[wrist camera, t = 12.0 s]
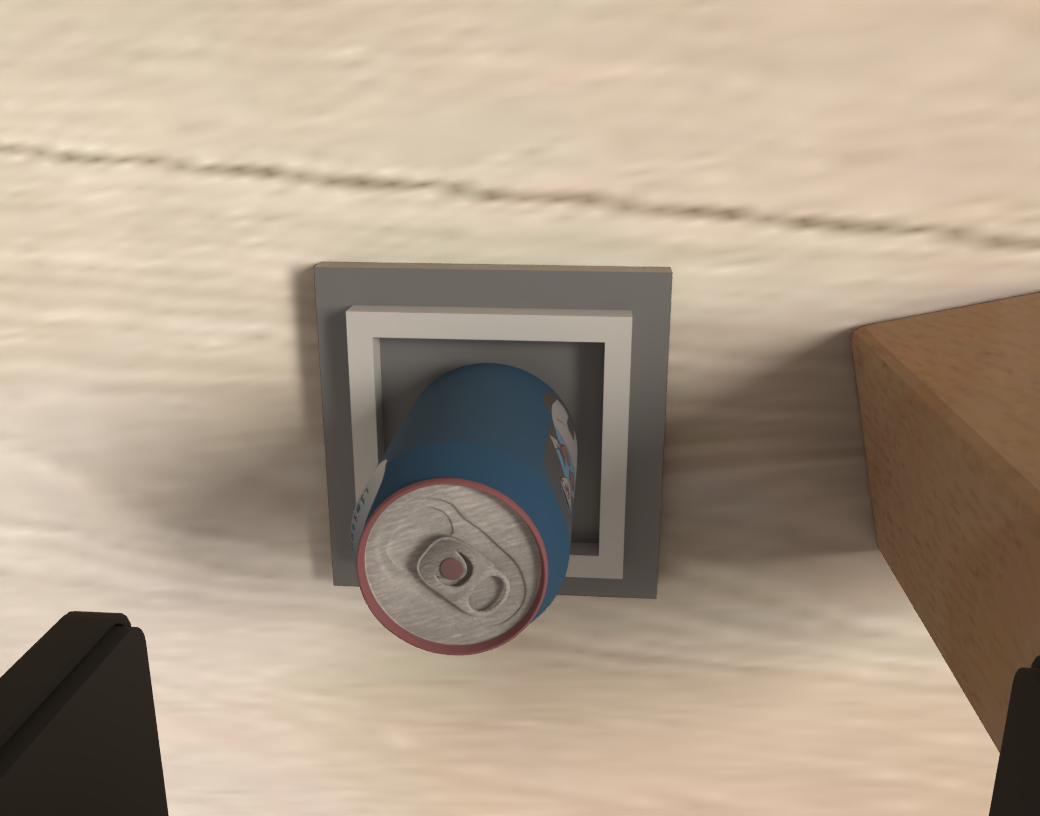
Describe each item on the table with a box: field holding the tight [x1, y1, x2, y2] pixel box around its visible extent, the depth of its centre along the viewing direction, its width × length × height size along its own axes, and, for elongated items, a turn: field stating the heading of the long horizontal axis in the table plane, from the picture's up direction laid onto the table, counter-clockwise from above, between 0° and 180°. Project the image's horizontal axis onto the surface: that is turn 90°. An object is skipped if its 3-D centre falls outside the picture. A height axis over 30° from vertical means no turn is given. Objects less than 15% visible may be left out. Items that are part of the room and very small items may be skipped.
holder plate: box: [314, 262, 672, 599], centre depth 41 cm, size 14×14×2 cm
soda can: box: [350, 363, 578, 655], centre depth 35 cm, size 7×7×12 cm
